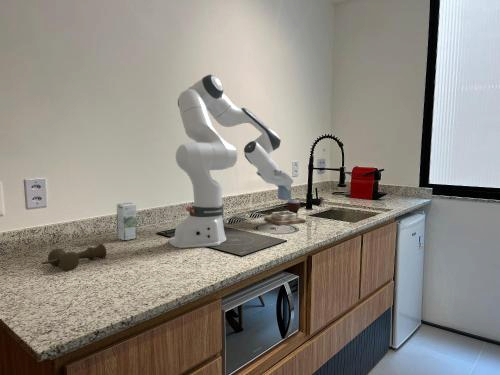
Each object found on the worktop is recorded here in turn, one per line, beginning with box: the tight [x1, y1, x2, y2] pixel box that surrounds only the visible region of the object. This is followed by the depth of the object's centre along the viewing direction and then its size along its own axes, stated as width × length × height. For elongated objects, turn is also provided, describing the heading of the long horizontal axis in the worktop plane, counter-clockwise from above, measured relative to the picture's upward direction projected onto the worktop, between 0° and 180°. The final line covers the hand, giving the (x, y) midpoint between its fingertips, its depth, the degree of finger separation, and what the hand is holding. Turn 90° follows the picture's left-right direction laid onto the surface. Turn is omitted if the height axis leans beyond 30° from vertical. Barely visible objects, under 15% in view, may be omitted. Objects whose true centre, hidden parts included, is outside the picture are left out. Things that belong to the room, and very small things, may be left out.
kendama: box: [41, 243, 107, 272], centre depth 121 cm, size 6×10×20 cm
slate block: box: [277, 185, 292, 201], centre depth 187 cm, size 4×4×10 cm
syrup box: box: [116, 202, 138, 241], centre depth 152 cm, size 6×6×14 cm
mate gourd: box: [286, 198, 301, 214], centre depth 207 cm, size 8×8×15 cm
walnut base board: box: [263, 210, 307, 226], centre depth 189 cm, size 15×15×4 cm
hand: (285, 188), depth 188 cm, fingers closed on slate block, 4 cm apart
